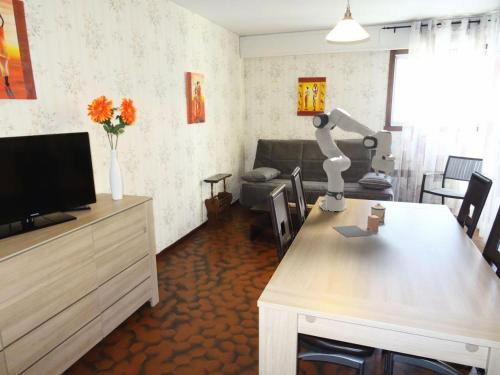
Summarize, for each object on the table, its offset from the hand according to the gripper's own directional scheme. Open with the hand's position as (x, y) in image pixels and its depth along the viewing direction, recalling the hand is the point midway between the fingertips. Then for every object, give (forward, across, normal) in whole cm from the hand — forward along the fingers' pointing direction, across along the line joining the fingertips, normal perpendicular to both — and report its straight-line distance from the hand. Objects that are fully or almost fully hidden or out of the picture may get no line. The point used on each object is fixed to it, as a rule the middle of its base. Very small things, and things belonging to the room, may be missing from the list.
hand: (381, 177), depth 225 cm
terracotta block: (+29, +15, -13) cm, 35 cm away
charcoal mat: (+29, +16, -28) cm, 43 cm away
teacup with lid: (+30, -2, +1) cm, 30 cm away
